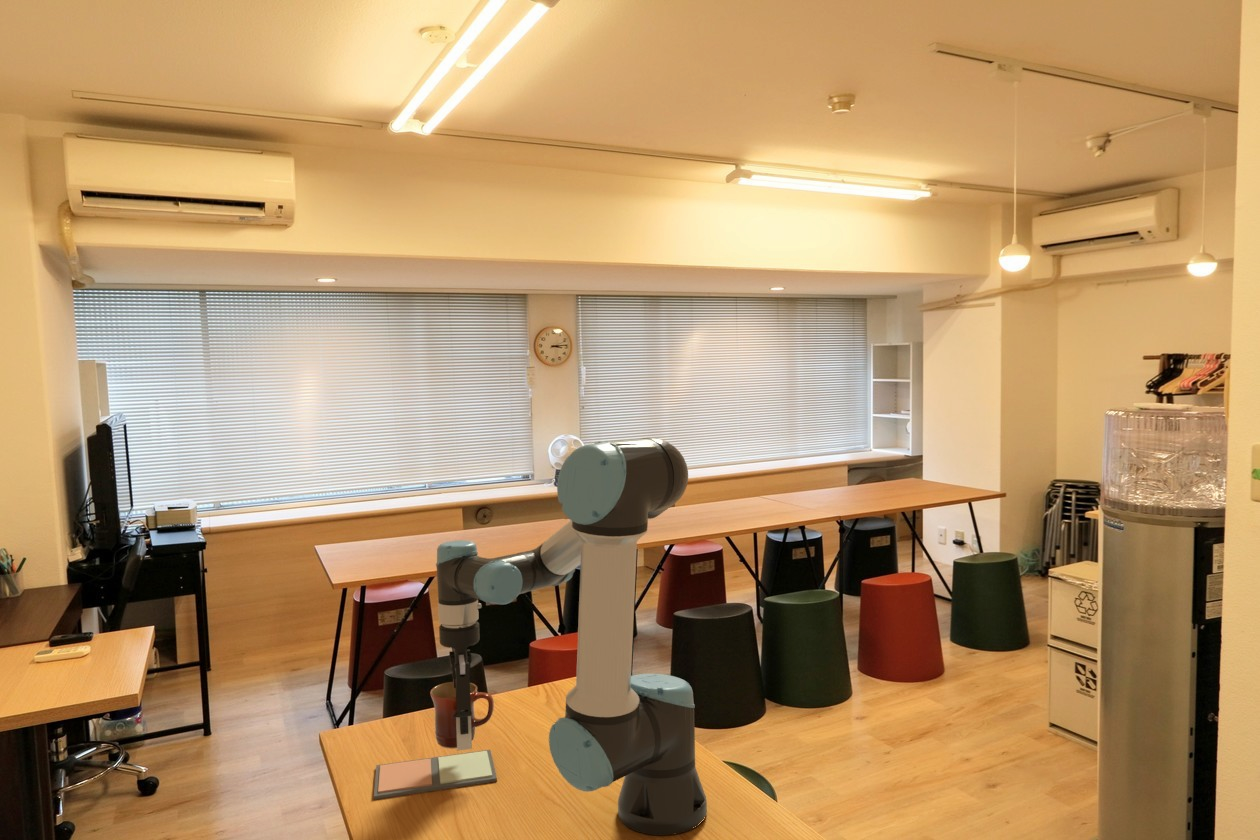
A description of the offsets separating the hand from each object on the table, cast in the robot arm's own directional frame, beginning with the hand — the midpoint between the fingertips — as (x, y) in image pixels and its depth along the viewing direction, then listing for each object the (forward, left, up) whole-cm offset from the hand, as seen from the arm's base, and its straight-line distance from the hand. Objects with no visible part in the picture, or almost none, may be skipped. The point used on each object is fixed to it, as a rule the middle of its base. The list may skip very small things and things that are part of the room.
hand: (463, 740), depth 161 cm
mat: (0, +5, -6) cm, 8 cm away
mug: (-1, 0, 0) cm, 1 cm away
